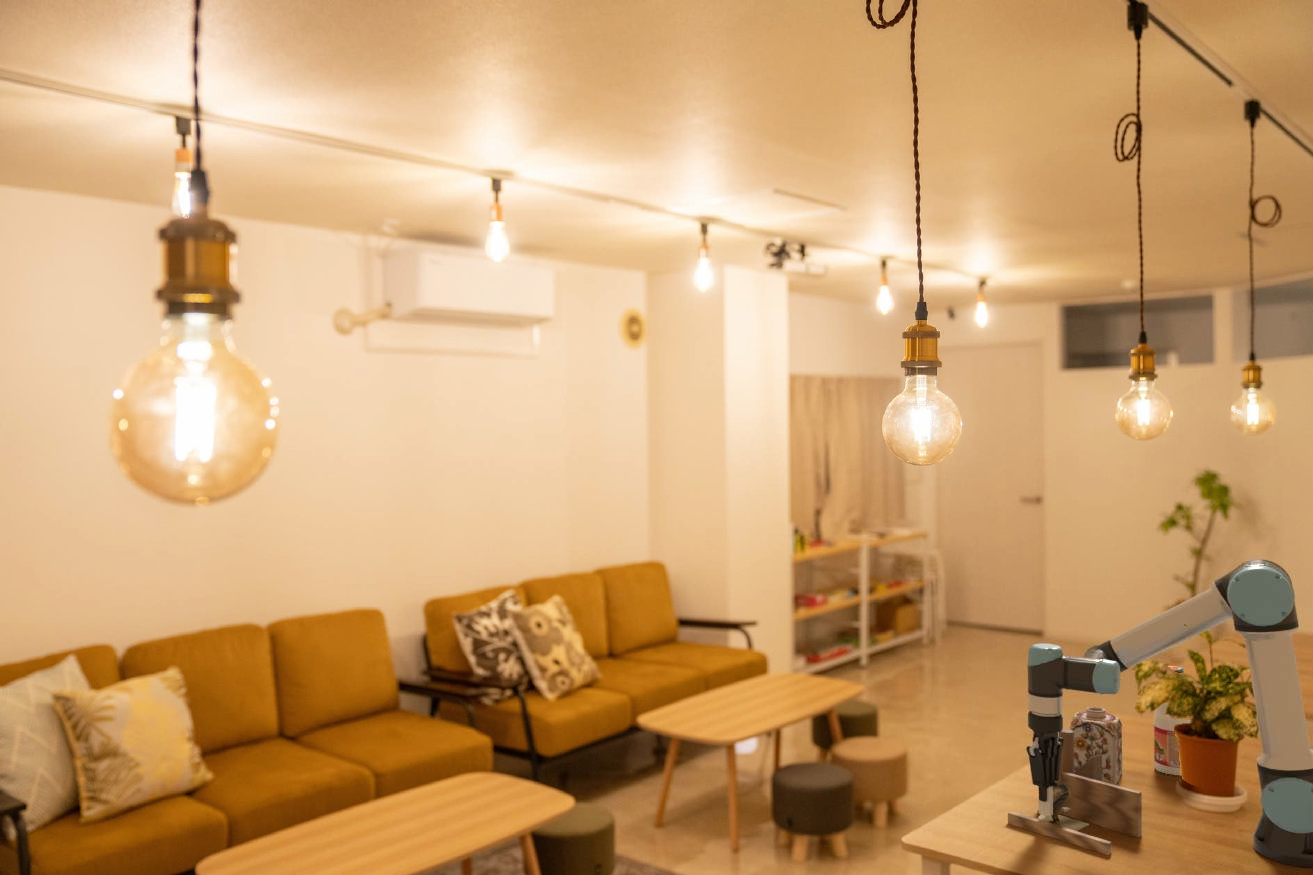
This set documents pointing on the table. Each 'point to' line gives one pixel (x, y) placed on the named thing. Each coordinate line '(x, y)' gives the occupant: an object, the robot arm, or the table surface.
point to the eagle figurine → (1058, 803)
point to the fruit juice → (1166, 739)
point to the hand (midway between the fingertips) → (1045, 813)
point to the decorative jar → (1098, 741)
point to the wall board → (1089, 812)
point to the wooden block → (1088, 769)
